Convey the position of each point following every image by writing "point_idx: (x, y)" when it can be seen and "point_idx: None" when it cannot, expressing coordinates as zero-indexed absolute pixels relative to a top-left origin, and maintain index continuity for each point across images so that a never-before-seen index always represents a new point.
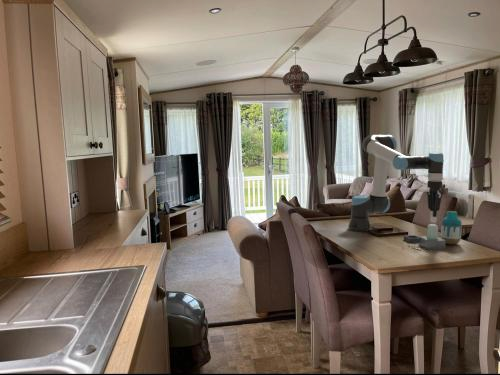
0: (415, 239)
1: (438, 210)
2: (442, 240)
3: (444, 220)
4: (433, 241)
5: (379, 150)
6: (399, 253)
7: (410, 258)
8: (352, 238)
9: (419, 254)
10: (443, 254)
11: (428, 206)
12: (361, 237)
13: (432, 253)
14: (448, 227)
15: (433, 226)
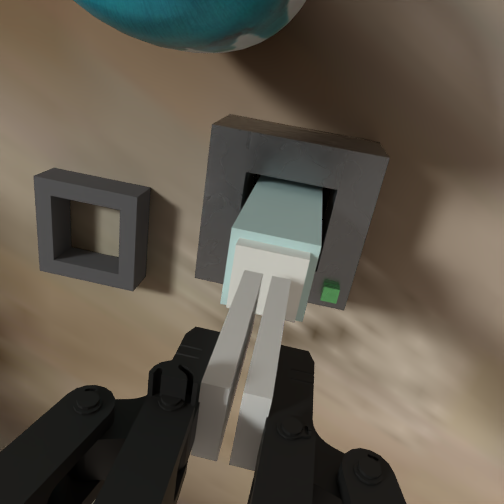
0: (138, 242)
1: (372, 460)
2: (379, 188)
3: (159, 29)
4: (356, 263)
5: None
6: None
7: (473, 474)
8: None
9: (425, 391)
10: (495, 257)
11: (63, 488)
12: (8, 439)
13: (440, 309)
14: (266, 21)
15: (301, 295)
